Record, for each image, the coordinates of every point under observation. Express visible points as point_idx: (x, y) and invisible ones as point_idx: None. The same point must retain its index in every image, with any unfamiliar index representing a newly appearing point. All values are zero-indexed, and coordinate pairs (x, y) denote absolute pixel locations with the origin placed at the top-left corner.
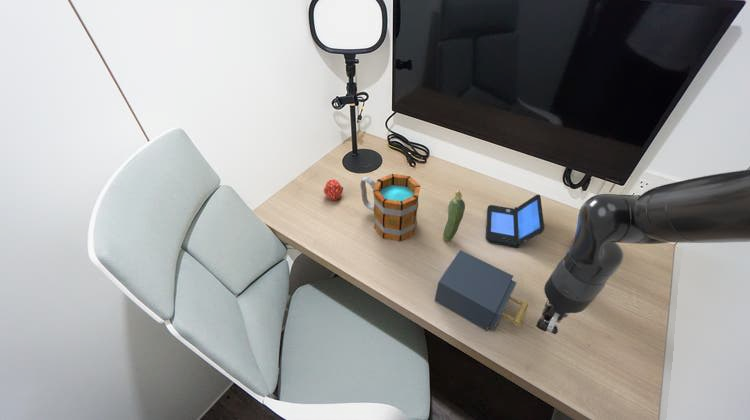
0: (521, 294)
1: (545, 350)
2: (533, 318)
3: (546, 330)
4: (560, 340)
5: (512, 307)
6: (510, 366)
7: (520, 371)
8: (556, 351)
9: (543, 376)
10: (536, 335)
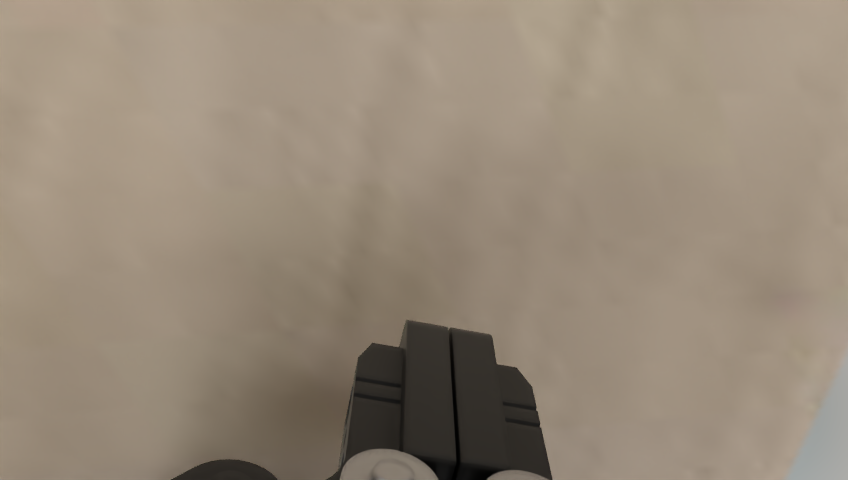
0: (21, 403)
1: (552, 157)
2: (241, 283)
3: (492, 351)
4: (375, 14)
5: (219, 456)
6: (799, 413)
7: (824, 342)
8: (524, 52)
9: (826, 162)
10: (421, 245)
